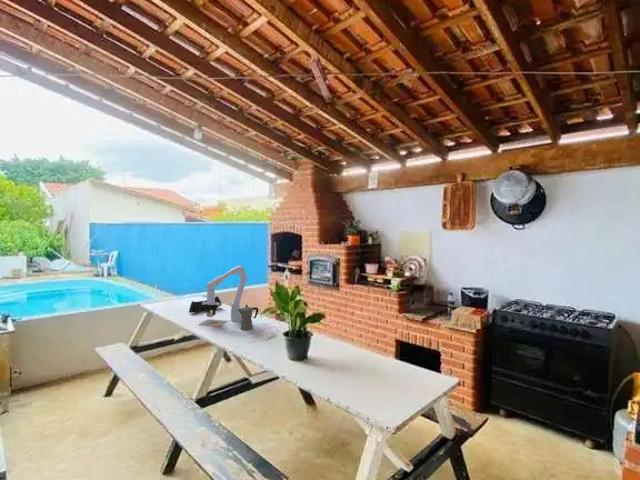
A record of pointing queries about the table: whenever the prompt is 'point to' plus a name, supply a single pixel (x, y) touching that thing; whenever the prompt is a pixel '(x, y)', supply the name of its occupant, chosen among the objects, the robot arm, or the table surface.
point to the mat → (213, 323)
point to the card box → (210, 314)
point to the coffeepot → (247, 317)
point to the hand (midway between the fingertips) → (211, 314)
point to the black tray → (201, 306)
